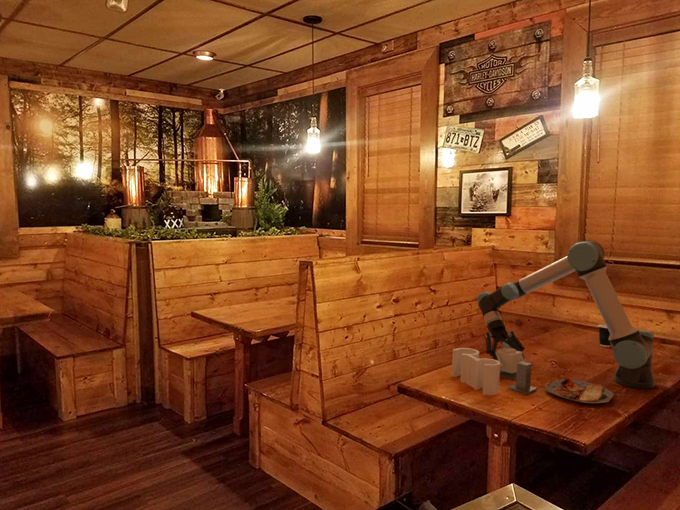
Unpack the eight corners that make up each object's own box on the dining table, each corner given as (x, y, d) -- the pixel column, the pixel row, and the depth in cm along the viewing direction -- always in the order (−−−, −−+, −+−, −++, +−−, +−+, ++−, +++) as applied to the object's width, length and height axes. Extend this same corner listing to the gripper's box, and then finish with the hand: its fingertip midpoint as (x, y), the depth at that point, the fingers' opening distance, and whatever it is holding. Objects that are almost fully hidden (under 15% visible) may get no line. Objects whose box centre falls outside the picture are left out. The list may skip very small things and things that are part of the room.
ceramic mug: (514, 360, 251) (515, 344, 251) (500, 355, 258) (501, 340, 257) (527, 357, 257) (528, 341, 257) (513, 353, 264) (514, 338, 263)
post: (537, 390, 210) (538, 363, 209) (527, 394, 205) (528, 367, 204) (518, 385, 216) (520, 359, 215) (508, 389, 211) (510, 362, 209)
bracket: (504, 393, 206) (506, 364, 204) (483, 396, 202) (485, 366, 201) (469, 373, 229) (470, 347, 228) (449, 375, 226) (451, 348, 225)
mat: (524, 375, 229) (524, 374, 229) (512, 379, 222) (512, 378, 222) (503, 369, 236) (503, 368, 236) (491, 373, 230) (491, 372, 230)
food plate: (558, 379, 223) (559, 371, 223) (618, 393, 209) (619, 385, 208) (538, 397, 204) (539, 388, 204) (603, 414, 190) (604, 404, 189)
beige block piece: (521, 369, 229) (522, 349, 228) (511, 373, 224) (512, 353, 223) (504, 365, 235) (505, 345, 234) (495, 368, 229) (496, 348, 228)
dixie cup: (596, 346, 279) (598, 326, 278) (597, 343, 286) (598, 323, 285) (613, 348, 276) (614, 328, 275) (613, 345, 283) (614, 325, 282)
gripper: (513, 326, 245) (531, 368, 232) (468, 328, 239) (484, 372, 226) (520, 317, 240) (539, 360, 226) (475, 319, 234) (492, 364, 220)
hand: (512, 366), depth 226 cm, fingers closed on beige block piece, 11 cm apart
